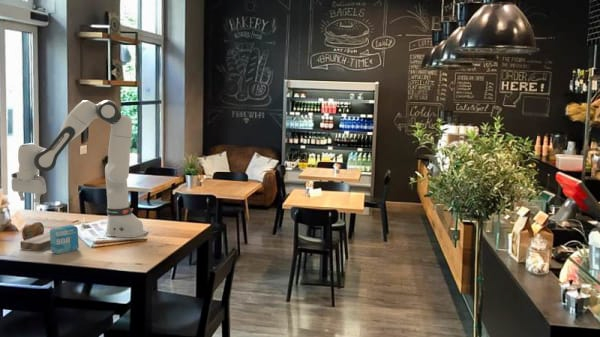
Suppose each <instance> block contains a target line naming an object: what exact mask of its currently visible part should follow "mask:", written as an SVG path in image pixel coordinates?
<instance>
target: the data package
mask: <svg viewBox="0 0 600 337" xmlns="http://www.w3.org/2000/svg"><path fill="white" fill-rule="evenodd" d="M49 232H50V242H51V247H50V251H51V253H54V254H56V255H60V254H64V253H65V254H66V253H69V252H75V251H77V250H78V249H79V246H80V245H79V243H80V242H79V230H78V227H77V226H76V225H72V224H68V225H64V226H57V227H53V228H51V229H50V230H49Z"/></svg>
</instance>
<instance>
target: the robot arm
mask: <svg viewBox="0 0 600 337" xmlns="http://www.w3.org/2000/svg"><path fill="white" fill-rule="evenodd" d="M96 119H99V120H101V121H104V122H106V123H108V124H110V134H109V139H108V140H109V143H108V150H107V151H108V154H107V155H108V157H107V163H106V165H105V168H104V177H105V185H106V186H105V187H106V199H107V202H106V203H107V207H106V214H107V226H106V231H105V234H106V233H107V234H106V236H107V235H110V236H109V237H111V236H116V237H115V238H137V237H141V236H144V235H146V234H148V229H144V225H143V221H142V220H140V219H139V218H138V217H137V216H136V215H135V214H134V213H133V210H134V208H133V207H132V208H131V207H130V201H129V200H130V199H129V189H128V188H129V187H128V178H129V175H130V174H129V172H130V158H131V145H132V137H133V122H132V119H131V118H130V117H129V116H127V115H124V114H121V110H120V109H119V106H118V105H117V103H115V101H112V100H110V99H104V100H102V101H99V102H97V103H94V102H92V101H90V100H87V99H86V100H82V101H80V102H79V103H77V105H75V107H73V109H72V110H71V111H70V112H69V113H68V115H66V117H65V119H64V121H63V122H62V125H61V127H60V130H59V132H58V134H57V136H56V137H55V139H54V140H53V141H52V142H51V143H50V144H49V146H48V147H47V148H45V147H42V146H39V145H37V144H36V143H34V142H28V143H24V144H21V145H20V146H19V147H18V152H17V153H18V154H17V159H18V160H17V161H18V164H19V167H18V171H16V172H13V173H11V175H10V176H11V190H12V191H13V192H15V193H16V192H17V194H18V196H19V198H20V201H26V197H25V196H24V193H27V194H35V195H34V196H36V197H35V198H33V201H34V203H39V202H40V198H41V196H42V195H45V194H46V193H47V184H46V181H45V177H43V175H39V172H38V171H40V172H49V171H51V170H53V169H54V168H55V166H56V163H57V159H58V157H59V155H60V154H61V153H62V151H64V150H65V148H66V147H67V145H68V144H69V143H70V142H71V141H73V140H75V138H77V137H78V136H79V135H81V133H83V132H84V131H85V130H86V129H87V128H88V126H89V125H90V124H91V122H93V121H94V120H96Z"/></svg>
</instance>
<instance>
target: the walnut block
mask: <svg viewBox="0 0 600 337" xmlns="http://www.w3.org/2000/svg"><path fill="white" fill-rule="evenodd" d="M21 248H23V249H22V250H28V249H30V250H29V251H36V252H37V251H38V252H41V251H42V252H43V251H45V250H46V249H51V242H50V231H48V232H45V233H43V234H42V235H39V236H36V237H33V238H30V239H27V240H21V241H20V249H21Z"/></svg>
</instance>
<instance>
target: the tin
mask: <svg viewBox="0 0 600 337" xmlns="http://www.w3.org/2000/svg"><path fill="white" fill-rule="evenodd" d="M44 232H45V227H44V224H43V223H42V222H40V221H39V222H38V221H37V222H32V223H30V224H28V225H26V226H24V227H23V228H22V231H21V235H22V236H21V237H22V241H24V240H27V239H30V238H33V237H36V236H39V235H42V234H45V233H44Z"/></svg>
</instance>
